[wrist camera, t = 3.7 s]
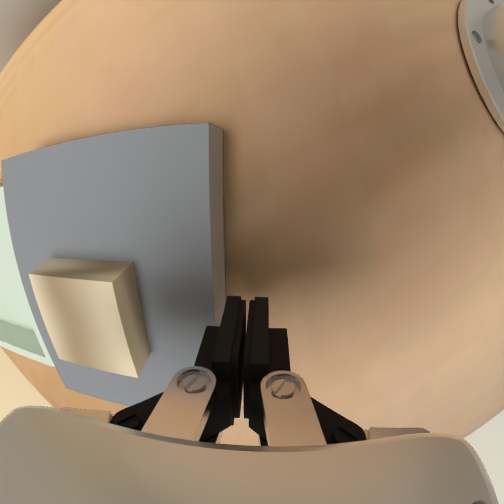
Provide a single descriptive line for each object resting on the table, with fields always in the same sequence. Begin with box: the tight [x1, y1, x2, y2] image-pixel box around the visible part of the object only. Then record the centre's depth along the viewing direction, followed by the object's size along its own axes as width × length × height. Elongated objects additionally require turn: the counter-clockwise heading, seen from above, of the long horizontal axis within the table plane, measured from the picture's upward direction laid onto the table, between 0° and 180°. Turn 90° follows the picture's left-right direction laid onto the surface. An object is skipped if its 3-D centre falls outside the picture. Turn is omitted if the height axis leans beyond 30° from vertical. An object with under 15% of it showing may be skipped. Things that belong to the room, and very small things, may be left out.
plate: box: [2, 123, 226, 406], centre depth 14 cm, size 12×16×4 cm
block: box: [29, 258, 151, 378], centre depth 11 cm, size 5×5×2 cm
